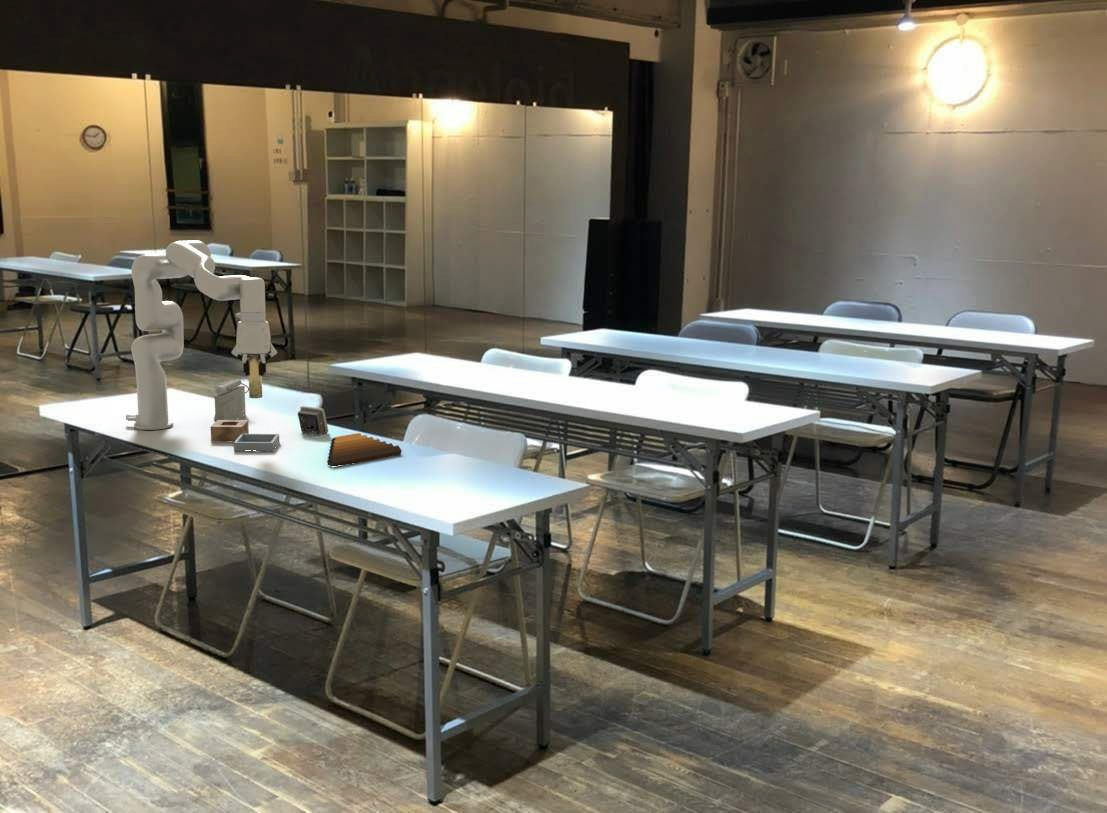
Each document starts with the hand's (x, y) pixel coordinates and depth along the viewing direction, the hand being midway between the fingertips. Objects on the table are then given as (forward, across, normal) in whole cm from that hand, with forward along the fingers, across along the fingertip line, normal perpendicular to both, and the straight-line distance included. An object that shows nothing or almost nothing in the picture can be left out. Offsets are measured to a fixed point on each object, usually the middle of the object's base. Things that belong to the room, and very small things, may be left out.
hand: (255, 374), depth 326 cm
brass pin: (+7, 0, 0) cm, 7 cm away
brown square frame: (+24, -11, +12) cm, 29 cm away
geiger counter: (+24, -16, +36) cm, 46 cm away
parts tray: (+24, 0, 0) cm, 24 cm away
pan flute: (+25, +29, -7) cm, 38 cm away
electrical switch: (+24, +15, +20) cm, 35 cm away
